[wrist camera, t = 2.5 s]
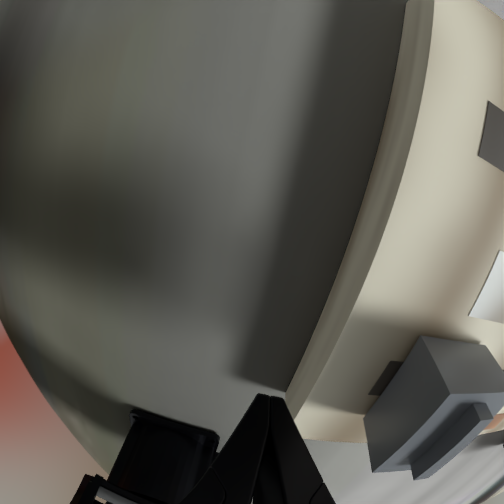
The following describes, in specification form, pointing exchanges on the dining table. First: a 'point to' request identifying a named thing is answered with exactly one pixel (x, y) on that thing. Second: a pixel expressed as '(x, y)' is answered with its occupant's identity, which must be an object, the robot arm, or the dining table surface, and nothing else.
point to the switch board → (418, 225)
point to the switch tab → (433, 406)
